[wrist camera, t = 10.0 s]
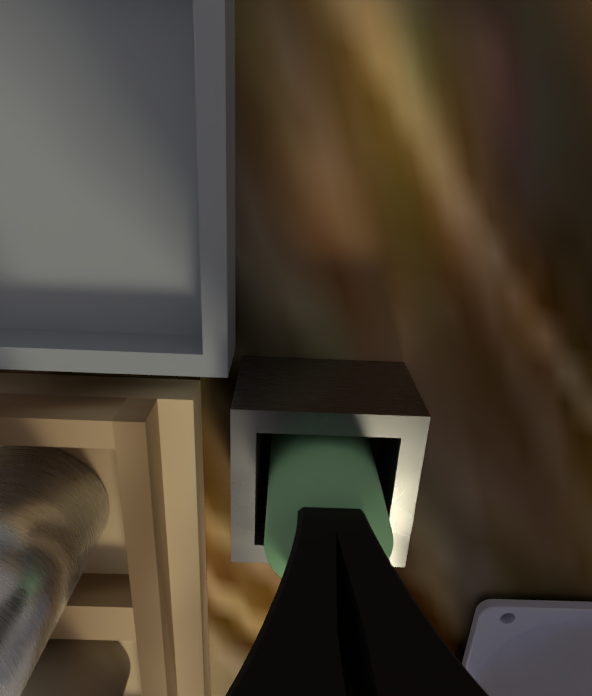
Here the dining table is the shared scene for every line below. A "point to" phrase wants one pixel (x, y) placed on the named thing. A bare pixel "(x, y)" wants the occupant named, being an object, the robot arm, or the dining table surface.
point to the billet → (41, 549)
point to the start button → (320, 487)
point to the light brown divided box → (125, 532)
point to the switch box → (325, 419)
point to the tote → (117, 186)
